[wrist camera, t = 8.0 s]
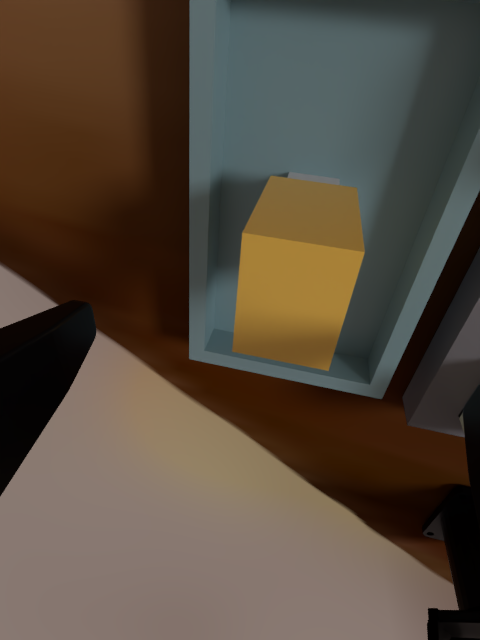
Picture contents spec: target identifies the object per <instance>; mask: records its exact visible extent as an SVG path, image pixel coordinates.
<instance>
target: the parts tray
mask: <svg viewBox="0 0 480 640" xmlns="http://www.w3.org/2000/svg"><path fill="white" fill-rule="evenodd" d="M289 172H294V173H301V174H308V175H315V176H323V177H330V178H337V179H340V185H342V186H349V187H356V188H357V192H358V200H359V208H360V217H361V225H362V233H363V241H364V249H365V253H364V257H363V260H362V263H361V266H360V270H359V273H358V276H357V279H356V283H355V286H354V289H353V292H352V296H351V299H350V302H349V306H348V309H347V312H346V315H345V319H344V322H343V325H342V328H341V332H340V335H339V338H338V341H337V345H336V348H335V351H334V354H333V358H332V361H331V364H330V367H329V371H326V370H321V369H316V368H311V367H306V366H301V365H296V364H291V363H286V362H281V361H276V360H271V359H266V358H261V357H256V356H251V355H246V354H241V353H236V352H232V348H233V336H234V324H235V313H236V301H237V289H238V277H239V266H240V254H241V242H242V232H243V230H244V228H245V226H246V224H247V222H248V220H249V218H250V216H251V214H252V212H253V210H254V208H255V206H256V204H257V202H258V200H259V198H260V196H261V194H262V192H263V190H264V188H265V186H266V184H267V182H268V180H269V178H270V176H278V177H285V178H287V177H288V175H289ZM479 191H480V0H190V128H189V359H192V360H197V361H201V362H206V363H211V364H216V365H221V366H225V367H230V368H235V369H240V370H244V371H249V372H254V373H259V374H263V375H268V376H273V377H278V378H283V379H287V380H292V381H297V382H302V383H306V384H311V385H316V386H321V387H325V388H330V389H335V390H340V391H344V392H349V393H354V394H359V395H364V396H368V397H373V398H378V399H382V398H383V395H384V393H385V391H386V389H387V387H388V385H389V383H390V381H391V378H392V376H393V374H394V372H395V370H396V368H397V366H398V363H399V361H400V359H401V357H402V355H403V353H404V351H405V349H406V346H407V344H408V342H409V340H410V338H411V336H412V334H413V331H414V329H415V327H416V325H417V323H418V321H419V319H420V317H421V314H422V312H423V310H424V308H425V306H426V304H427V302H428V299H429V297H430V295H431V293H432V291H433V289H434V287H435V285H436V282H437V280H438V278H439V276H440V274H441V272H442V270H443V267H444V265H445V263H446V261H447V259H448V257H449V255H450V253H451V250H452V248H453V246H454V244H455V242H456V240H457V238H458V235H459V233H460V231H461V229H462V227H463V225H464V223H465V221H466V218H467V216H468V214H469V212H470V210H471V208H472V206H473V203H474V201H475V199H476V197H477V195H478V193H479Z"/></svg>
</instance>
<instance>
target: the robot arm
mask: <svg viewBox="0 0 480 640" xmlns="http://www.w3.org/2000/svg"><path fill="white" fill-rule="evenodd" d="M95 336H96V325H95V320H94V315H93V310H92V307H91V305H90V304H89V303H87V302H82V301H77V300H72V301H69V302H66V303H64V304H61V305H59V306H56V307H54V308H51V309H49V310H46V311H44V312H41V313H38V314H36V315H33V316H31V317H28V318H26V319H23V320H21V321H18V322H16V323H13V324H11V325H8V326H6V327H3V328H0V496H1V494H2V493H3V491H4V490H5V488H6V487H7V485H8V484H9V482H10V481H11V479H12V477H13V476H14V474H15V473H16V471H17V470H18V468H19V466H20V465H21V464H22V462H23V460H24V459H25V457H26V456H27V454H28V453H29V451H30V450H31V448H32V447H33V445H34V443H35V442H36V440H37V439H38V437H39V436H40V434H41V433H42V431H43V429H44V428H45V426H46V425H47V423H48V422H49V420H50V419H51V417H52V415H53V414H54V412H55V411H56V409H57V408H58V406H59V405H60V403H61V402H62V400H63V399H64V397H65V395H66V394H67V392H68V391H69V389H70V387H71V385H72V383H73V381H74V379H75V377H76V375H77V373H78V371H79V369H80V367H81V365H82V363H83V361H84V359H85V357H86V355H87V353H88V351H89V349H90V347H91V345H92V343H93V341H94V339H95ZM463 423H464V433H465V444H466V454H467V464H468V473H469V481H470V486H471V489H469V488H465V487H457V488H455V489H453V490H452V492H451V493H450V494H449V495H448V497H447V498H446V499H445V500H444V501H443V503H442V504H441V505H440V506H439V507H438V509H437V510H436V511H435V512H434V514H433V515H432V516H431V517H430V518H429V520H428V521H427V522H426V523H425V524H424V526H423V527H422V530H423V534H424V535H425V536H427V537H431V538H435V539H439V540H443V541H445V546H446V551H447V555H448V560H449V565H450V570H451V575H452V579H453V584H454V589H455V593H456V598H457V603H458V608H459V610H438V609H437V608H429V609H428V615H429V616H428V617H429V620H428V623H427V630H428V631H427V632H428V640H480V384H479V385H478V386H477V388H476V389H475V391H474V392H473V394H472V395H471V397H470V398H469V400H468V401H467V403H466V404H465V406H464V409H463Z"/></svg>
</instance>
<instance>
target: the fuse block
mask: <svg viewBox="0 0 480 640" xmlns="http://www.w3.org/2000/svg"><path fill="white" fill-rule="evenodd" d="M479 384H480V248H479V250H478V252H477V254H476V256H475V258H474V260H473V261H472V263H471V265H470V267H469V269H468V271H467V273H466V275H465V277H464V279H463V281H462V283H461V285H460V287H459V289H458V291H457V292H456V294H455V296H454V298H453V300H452V302H451V304H450V306H449V308H448V310H447V312H446V314H445V316H444V318H443V320H442V322H441V323H440V325H439V327H438V329H437V331H436V333H435V335H434V337H433V339H432V341H431V343H430V345H429V347H428V349H427V351H426V352H425V354H424V356H423V358H422V360H421V362H420V364H419V366H418V368H417V370H416V372H415V374H414V376H413V378H412V380H411V382H410V383H409V385H408V387H407V389H406V391H405V393H404V395H403V397H402V398H403V403H404V409H405V415H406V420H407V425H410V426H414V427H419V428H423V429H428V430H433V431H437V432H442V433H447V434H451V435H456V436H460V437H465V435H464V431H463V428H462V425H461V422H460V419H459V418H460V416H461V415H462V413H463V409H464V406H465V404H466V403H467V401H468V400H469V398H470V397H471V395H472V394H473V392H474V391H475V389H476V388H477V386H478V385H479Z"/></svg>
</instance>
